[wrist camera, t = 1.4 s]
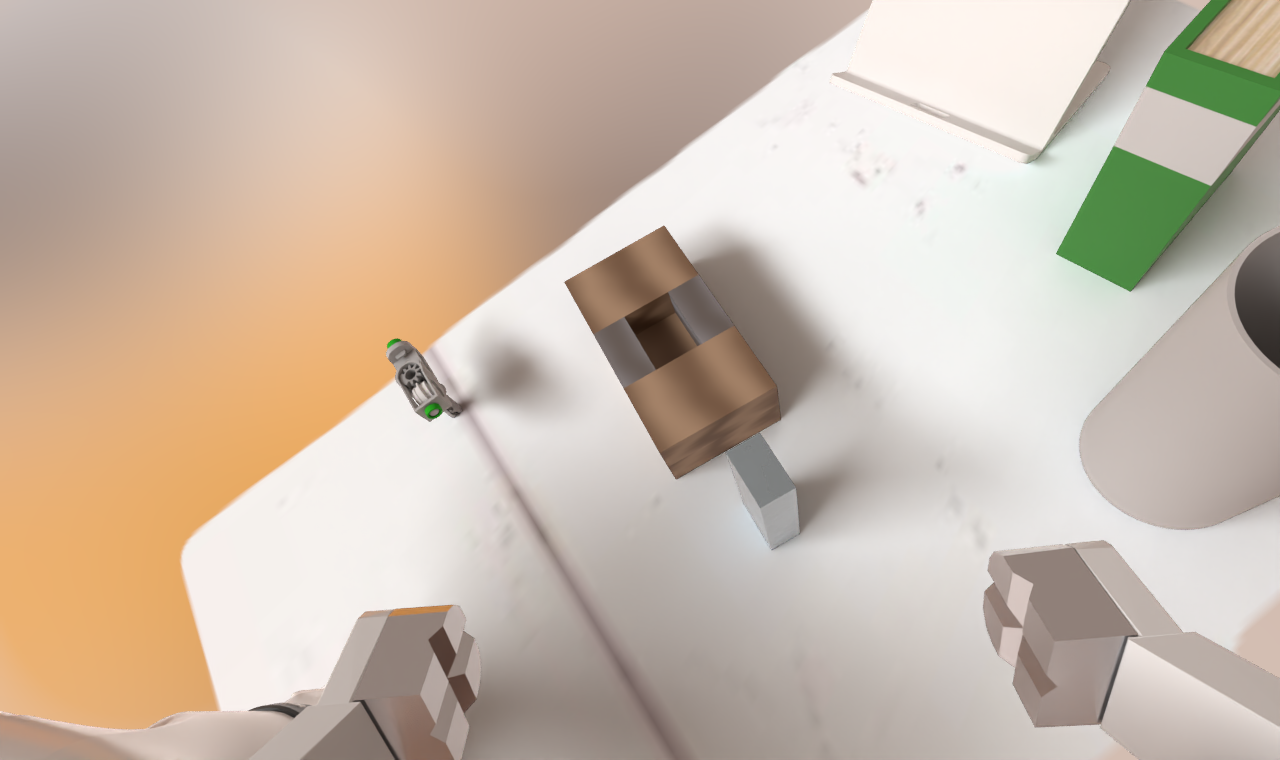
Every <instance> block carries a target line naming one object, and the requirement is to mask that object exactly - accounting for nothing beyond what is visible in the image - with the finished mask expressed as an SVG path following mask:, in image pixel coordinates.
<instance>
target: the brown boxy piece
mask: <svg viewBox="0 0 1280 760" xmlns="http://www.w3.org/2000/svg"><path fill="white" fill-rule="evenodd" d="M565 284H566V286H567V288H568V289H569V291H570V293H571V295H572V297H573V298H574V300H575V302H576V304H577V306H578V307H579V309H580V311H581V313H582V315H583V316H584V318H585V320H586V322H587V324H588V325H589V327H590V329H591V331H592V332H593V334H594V336H595V338H596V340H597V341H598V343H599V345H600V347H601V349H602V350H603V352H604V354H605V356H606V358H607V359H608V361H609V363H610V365H611V367H612V368H613V370H614V372H615V374H616V375H617V377H618V379H619V381H620V383H621V384H622V386H623V388H624V390H625V392H626V393H627V395H628V397H629V399H630V401H631V402H632V404H633V406H634V408H635V410H636V411H637V413H638V415H639V417H640V418H641V420H642V422H643V424H644V426H645V427H646V429H647V431H648V433H649V435H650V436H651V438H652V440H653V442H654V444H655V445H656V447H657V449H658V451H659V452H660V454H661V456H662V457H663V459H664V461H665V462H666V464H667V466H668V467H669V469H670V470H671V472H672V474H673V475H674V477H675V479H678V478H679V477H681V476H683V475H685V474H686V473H688V472H690V471H692V470H693V469H695V468H697V467H699V466H700V465H702V464H704V463H706V462H707V461H709V460H711V459H713V458H714V457H716V456H718V455H720V454H721V453H723V452H725V451H727V450H728V449H730V448H732V447H734V446H735V445H737V444H739V443H741V442H742V441H744V440H746V439H748V438H749V437H751V436H753V435H755V434H756V433H758V432H760V431H762V430H763V429H765V428H767V427H769V426H770V425H772V424H774V423H776V422H777V421H779V420H781V417H780V408H779V400H778V391H777V386H776V384H775V383H774V381H773V380H772V379H771V377H770V376H769V374H768V373H767V371H766V370H765V369H764V367H763V366H762V364H761V363H760V361H759V360H758V359H757V357H756V356H755V354H754V353H753V351H752V350H751V349H750V347H749V346H748V344H747V343H746V341H745V340H744V339H743V337H742V336H741V334H740V333H739V331H738V330H737V329H736V327H735V326H734V324H733V323H732V321H731V320H730V319H729V317H728V316H727V314H726V313H725V312H724V310H723V309H722V307H721V306H720V304H719V303H718V302H717V300H716V299H715V297H714V296H713V294H712V293H711V292H710V290H709V289H708V287H707V286H706V284H705V283H704V282H703V280H702V279H701V277H700V276H699V274H698V273H697V272H696V270H695V269H694V267H693V266H692V264H691V263H690V262H689V260H688V259H687V257H686V256H685V254H684V253H683V252H682V250H681V249H680V247H679V246H678V244H677V243H676V242H675V240H674V239H673V237H672V236H671V235H670V233H669V232H668V230H667V229H666V227H665V226H662V227H661V228H659V229H657V230H655V231H653V232H652V233H650V234H648V235H646V236H645V237H643V238H641V239H639V240H638V241H636V242H634V243H632V244H630V245H629V246H627V247H625V248H623V249H622V250H620V251H618V252H616V253H615V254H613V255H611V256H609V257H607V258H606V259H604V260H602V261H600V262H599V263H597V264H595V265H593V266H592V267H590V268H588V269H586V270H584V271H583V272H581V273H579V274H577V275H576V276H574V277H572V278H570V279H569V280H567V281H565Z"/></svg>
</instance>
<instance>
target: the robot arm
mask: <svg viewBox="0 0 1280 760" xmlns="http://www.w3.org/2000/svg"><path fill="white" fill-rule="evenodd" d="M988 572H989V574H990V576H991V577H992V579H993V581H994V583H993V584H992V585H991V586H990V587H989V588H988V589H987V590H986V591H985V592H984V603H983V611H984V617H985V623H986V628H987V631H988V633H989V636H990V639H991V642H992V644H993V646H994V648H995V650H996V652H997V654H998V656H999V657H1000V658H1002V659H1003V660H1005V661H1006V662H1008V663H1009V664H1010V665H1012V666H1013V667H1015V673H1014V678H1013V686H1014V688H1015V690H1016V692H1017V694H1018V695H1019V697H1020V699H1021V701H1022V703H1023V705H1024V707H1025V709H1026V711H1027V713H1028V715H1029V717H1030V719H1031V721H1032V723H1033V725H1034V727H1055V726H1077V725H1099V724H1101V726H1100V728H1101V729H1102V730H1103V731H1105V732H1106V733H1107V734H1108V735H1109V736H1111V737H1112V738H1113V739H1114V740H1115V741H1117V742H1118V743H1119V744H1120V745H1122V746H1123V747H1124V748H1125V749H1126V750H1128V751H1129V752H1130V753H1132V755H1134V756H1135V757H1136V758H1137V759H1138V760H1280V678H1279V677H1277V676H1275V675H1273V674H1271V673H1269V672H1268V671H1266V670H1264V669H1262V668H1260V667H1258V666H1257V665H1255V664H1253V663H1251V662H1249V661H1247V660H1246V659H1244V658H1242V657H1240V656H1238V655H1236V654H1235V653H1233V652H1231V651H1229V650H1227V649H1225V648H1224V647H1222V646H1220V645H1218V644H1216V643H1214V642H1213V641H1211V640H1209V639H1207V638H1205V637H1203V636H1202V635H1200V634H1198V633H1196V632H1187V633H1183V632H1182V630H1181V629H1180V628H1179V627H1178V626H1177V624H1176V623H1175V622H1174V621H1173V619H1172V618H1171V617H1170V616H1169V615H1168V613H1167V612H1166V611H1165V610H1164V608H1163V607H1162V606H1161V605H1160V604H1159V602H1158V601H1157V600H1156V599H1155V597H1154V596H1153V595H1152V594H1151V593H1150V591H1149V590H1148V589H1147V588H1146V586H1145V585H1144V584H1143V583H1142V582H1141V580H1140V579H1139V578H1138V577H1137V575H1136V574H1135V573H1134V572H1133V571H1132V569H1131V568H1130V567H1129V566H1128V564H1127V563H1126V562H1125V561H1124V560H1123V558H1122V557H1121V556H1120V555H1119V553H1118V552H1117V551H1116V550H1115V549H1114V547H1113V546H1112V545H1111V544H1109V543H1107V542H1106V541H1104V540H1101V541H1091V542H1082V543H1072V544H1066V545H1062V544H1059V545H1050V546H1041V547H1031V548H1022V549H1013V550H1004V551H995V552H993V554H992V555H991V557H990V558H989V564H988ZM465 623H466V617H465V615H464V613H463V611H462V609H461V607H460V606H459V605H444V606H430V607H416V608H401V609H393V610H380V611H367V612H365V613H364V614H362V615H361V616H360V617H359V618H358V619H357V621H356V623H355V625H354V627H353V629H352V631H351V634H350V636H349V638H348V640H347V642H346V644H345V646H344V648H343V651H342V653H341V655H340V657H339V659H338V661H337V663H336V665H335V668H334V670H333V672H332V674H331V676H330V678H329V680H328V682H327V684H326V685H324V686H323V687H322V688H321V689H312V690H302V691H298V692H295V693H293V694H292V695H291V698H290V699H289V700H287V701H286V702H285V703H275V704H270V705H266V706H260V707H257V708H253V709H251V710H248V711H212V712H181V713H177V714H174V715H171V716H168V717H166V718H163V719H161V720H160V721H158V722H156V723H155V724H153V725H151V726H150V727H148V728H147V729H135V730H124V729H109V728H98V727H91V726H84V725H78V724H72V723H66V722H60V721H54V720H48V719H43V718H38V717H34V716H27V715H15V714H11V713H6V712H2V711H0V760H461V759H462V755H463V751H464V747H465V743H466V740H467V736H468V732H469V728H470V726H469V724H468V721H467V719H466V717H465V715H464V713H465V711H466V710H467V709H468V708H469V707H470V706H471V705H472V704H473V703H474V702H475V700H476V699H477V695H478V691H479V686H480V682H481V658H480V653H479V648H478V646H477V643H476V641H475V638H473V637H472V636H470V635H469V634H467V633H466V632H464V631H463V630H464V627H465Z"/></svg>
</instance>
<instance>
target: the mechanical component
mask: <svg viewBox="0 0 1280 760" xmlns="http://www.w3.org/2000/svg"><path fill="white" fill-rule="evenodd" d="M387 348H388V350H387V352H386V355H387V357H388V359H389V361H390V362H391V363H393V365H394V367H395V368H396V370H397V372H396V375H395V379H396V382H397V383H398V384H399V385H400V386H401V388H402V389H403V391H404V393H405V395H406V397H407V398H408V400H409V402H410V404H411V405H412V407H413V409H414V411H415V412H416V413H417V414H419V415H420V416H421V417H423V418H425V419H426V420H428V421H429V422H430V421H432V420H433V419H435V418H437V417H439V416H440V415H441V414H442V413H443V412H445V413H447V414H448V415H449V416H451V417H452V418H454V417H455V416H456V414H455V413H454V412H456V411H457V412H458V413H460V412H462V408H461V406H459V405H458V404H457V403H456V402H455V401H454V400H452V399H451V398H450V397H449V396H448V395H446V388H445V387H444V386H443V385H442V384H440V383H439V382H438V380H437V378H436V377H435V375H434V373H433V372H432V370H431V368H430V367H429V365H428V364H427V362H426V360H425V359H424V357H423V356H422V355H421V354H420V352H419V351H418V350H417V349H416V348H415V347H413V346H412V345H411V344H410V343H409V342H407V341H401V340H400V339H393V340H391V341H390V342H389V343H388V345H387ZM412 397H413V398H414V399H415V400H416V402H417V403H418V404H419V406H418V405H417V404H416V403H415V401H414V400H413V398H412Z"/></svg>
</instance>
